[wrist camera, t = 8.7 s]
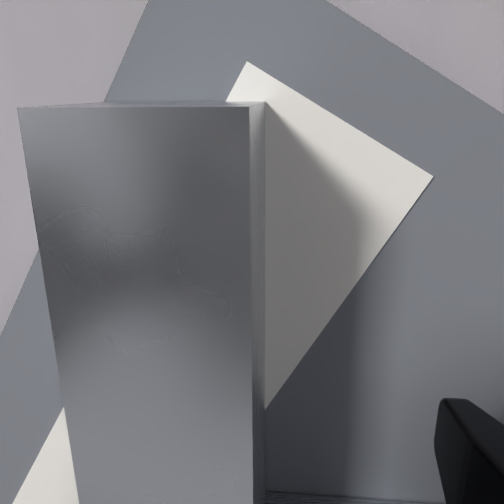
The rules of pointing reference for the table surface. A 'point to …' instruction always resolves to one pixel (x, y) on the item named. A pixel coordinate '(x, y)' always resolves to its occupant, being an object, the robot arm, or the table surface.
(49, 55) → the table surface
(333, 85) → the arena mat
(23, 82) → the table surface
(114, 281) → the bracket
